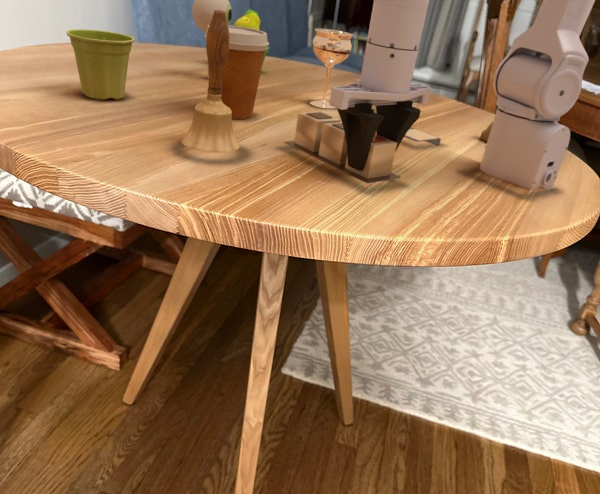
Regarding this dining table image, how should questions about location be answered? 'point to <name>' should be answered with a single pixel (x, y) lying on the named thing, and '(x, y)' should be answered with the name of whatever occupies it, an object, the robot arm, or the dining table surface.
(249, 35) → the disposable coffee cup
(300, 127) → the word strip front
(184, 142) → the hand bell
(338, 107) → the robot arm
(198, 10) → the lollipop
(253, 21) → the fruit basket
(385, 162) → the red-topped wooden cube
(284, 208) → the dining table surface
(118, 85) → the plant pot
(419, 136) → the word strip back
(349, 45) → the wineglass
